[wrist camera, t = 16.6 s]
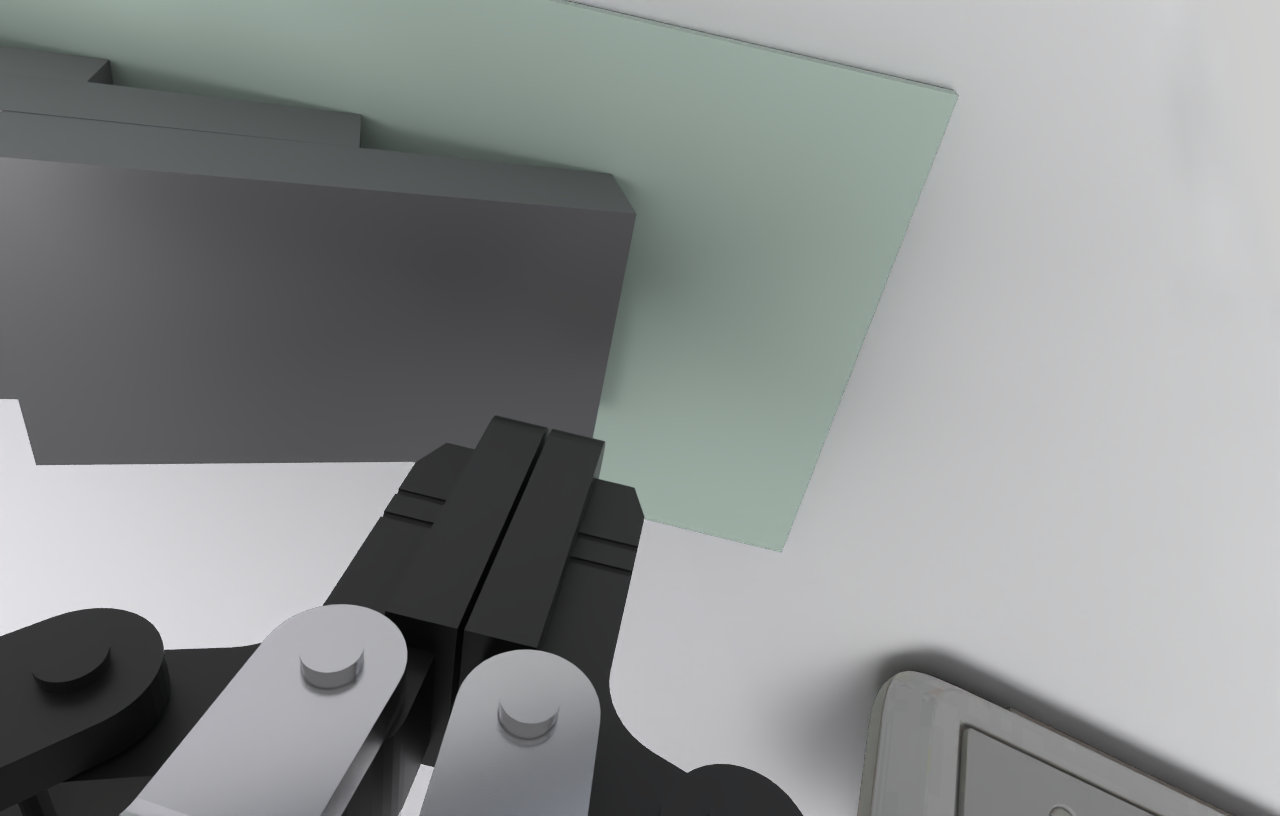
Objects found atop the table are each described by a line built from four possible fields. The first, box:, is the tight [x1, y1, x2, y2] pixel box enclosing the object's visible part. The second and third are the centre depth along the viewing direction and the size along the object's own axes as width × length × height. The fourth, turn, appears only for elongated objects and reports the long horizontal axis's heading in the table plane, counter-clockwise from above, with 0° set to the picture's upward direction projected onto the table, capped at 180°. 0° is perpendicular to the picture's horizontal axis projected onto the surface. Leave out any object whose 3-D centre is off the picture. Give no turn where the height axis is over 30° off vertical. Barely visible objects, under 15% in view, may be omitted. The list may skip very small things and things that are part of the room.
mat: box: [0, 0, 959, 552], centre depth 16 cm, size 10×26×1 cm, turn 79°
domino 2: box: [0, 111, 637, 465], centre depth 14 cm, size 5×2×9 cm
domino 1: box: [0, 72, 361, 399], centre depth 14 cm, size 5×2×9 cm
